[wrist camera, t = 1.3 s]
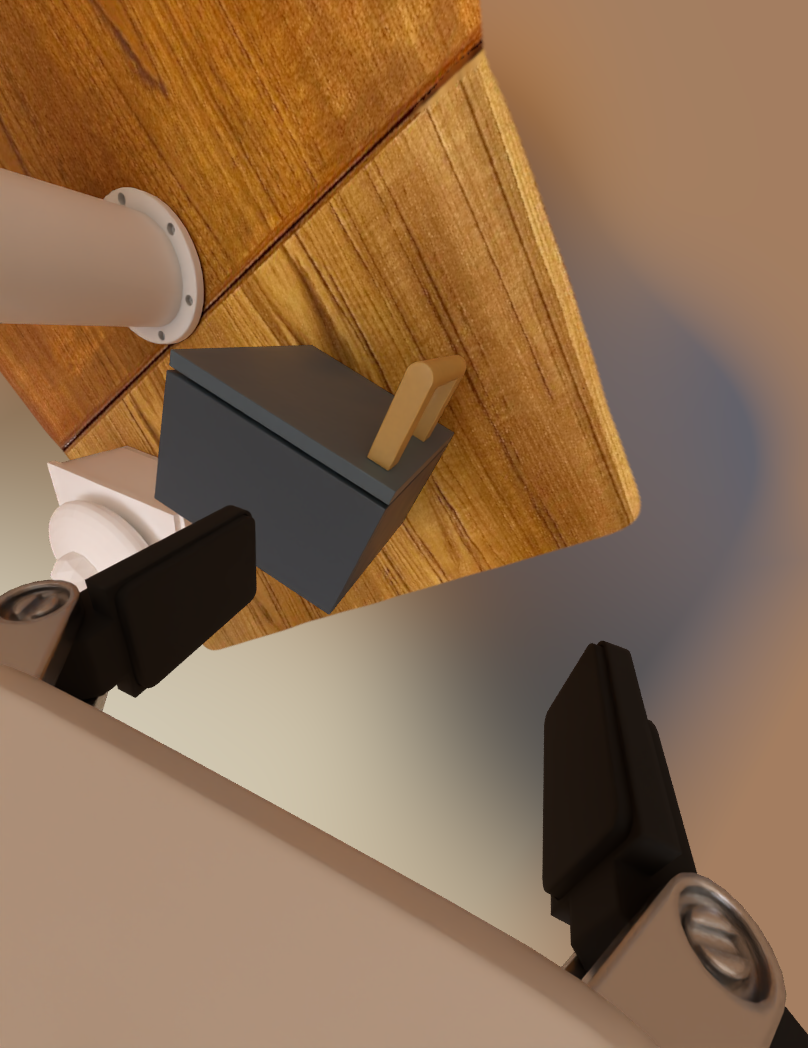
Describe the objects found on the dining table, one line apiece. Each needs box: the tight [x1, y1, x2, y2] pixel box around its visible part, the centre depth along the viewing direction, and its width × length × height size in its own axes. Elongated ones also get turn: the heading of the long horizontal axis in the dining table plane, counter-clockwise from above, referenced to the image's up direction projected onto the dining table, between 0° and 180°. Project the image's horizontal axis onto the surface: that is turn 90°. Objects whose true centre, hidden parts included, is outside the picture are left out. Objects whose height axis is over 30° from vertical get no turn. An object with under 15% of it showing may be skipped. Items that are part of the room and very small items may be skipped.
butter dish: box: [47, 446, 192, 592], centre depth 45 cm, size 18×18×16 cm
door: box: [169, 345, 466, 505], centre depth 26 cm, size 7×16×15 cm, turn 63°
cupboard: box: [154, 369, 448, 614], centre depth 31 cm, size 10×16×16 cm, turn 63°
